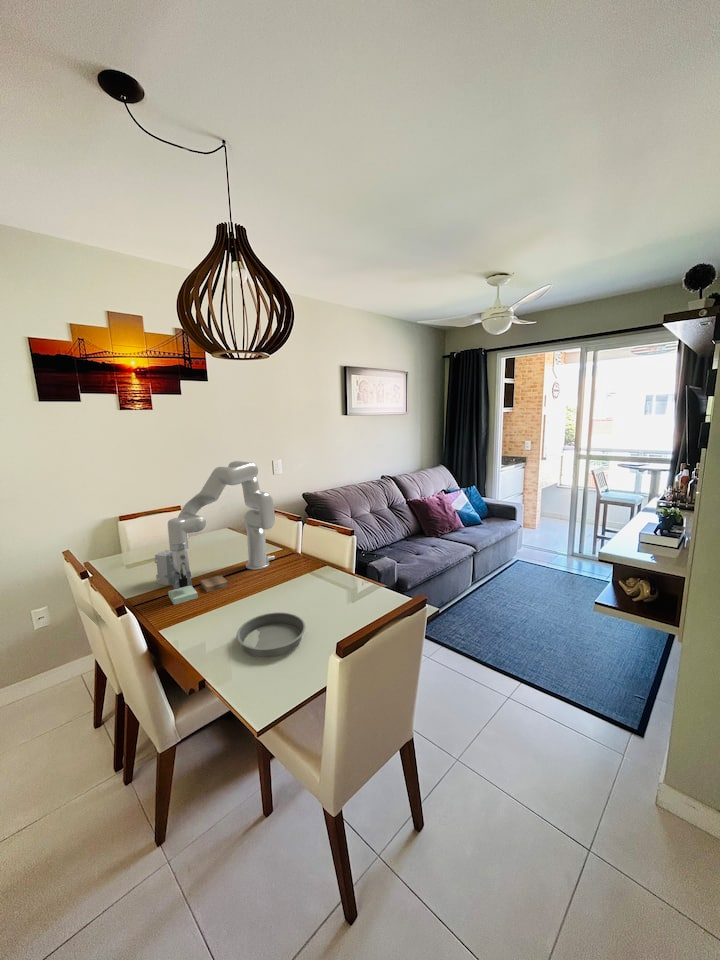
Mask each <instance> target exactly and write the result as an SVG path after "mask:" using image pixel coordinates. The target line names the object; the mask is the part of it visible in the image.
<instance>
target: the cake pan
mask: <svg viewBox="0 0 720 960" xmlns="http://www.w3.org/2000/svg"><path fill="white" fill-rule="evenodd" d="M255 631H257V632H259V633H258V640H257V643H256V646H250V645H247V644H246V643H244V641H245V640H246V638H247V637H248V636H249V635H250V634H251V633H253V632H255ZM305 631H306V622H305V621H304V620H303V619H302V618H301V617H300V616H298V615H296V614H295V613H294V614H293V613H289V612H269V613H264V614H263V613H262V614H260V615H256V616H255V617H253V618H250V619H248V620H247V621H246V622H244V623H243V624H242V625H241V626H240V627H239V628H238V630H237V632H236V639H237V642H238V643H239V644H240V645H241V646H242V649H243V650H244V651H245V653H247V654H248V655H250V656H253V657H255V658H262V659H263V658H265V659H267V658H269V659H270V658H276V657H279V656H284V655H286V654H288V653H290V652H291V651H294V650H295V649H296V648H297V647H298V646H299V645H300V643H301V641H302V638H303V635H304V633H305Z"/></svg>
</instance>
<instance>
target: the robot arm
mask: <svg viewBox="0 0 720 960" xmlns="http://www.w3.org/2000/svg"><path fill="white" fill-rule="evenodd" d="M258 473H259V467H258V466H257V464H255V463H253V462H250V461H249V462H248V461H241V460H233V461H231V462H229V464H228V466H218V467H215V468H214V469H213V470H212V472H211V474H210V475H209V477H208V478H207V480H206V482H205V484H204V486H203V487H202V488H201V490H200V491H199V492H198V493H196V494H195V495H194V496H193V497H191V499H190V500H188V501H187V502H186V503H185V504H184V505H183V507H182V509H181V511H180V513H179V514H178V516H177V517H174V518H171V519H168V521H167V534H168V544H169V550H170V551H172V556H173V566H174V568H175V570H176V571H177V572H178V573H179V576H180V579H179V584H180V587H185V586H186V587H187V585H188V583H187V573H186V570H187V571H189V570H190V571H191V568H190V560H189V559H190V558H189V552H188V549H189V541H188V540H189V538H188V534H192V533H199V532H201V531H203V530H204V529H205V528H206V526H207V521H206V518H205V517H203V516H200V515H198V512H199V511H200V510H201V509H202V508H203V507H206V506H207V505H210V504H213V503H215V502H217V501H218V500H219V498H220V496H221V495H222V492H223V490H224V489H225V488H226V486H237V485H240V484H241V487H242V492H243V493H242V494H243V499H244V505H245V506H246V507H247V508H249V510H247V511H246V513H245V514H244V517H243V518H244V524H245V528H246V537H247V539H246V540H247V555H248V561H247V562H246V564H245V567H246V568H247V569H248V570H263V569H265V568H267V567H269V566H270V561H272V560H275V559H276V558H275V557H276V556H275V555H267V546H266V544H267V542H266V532H265V530H266V531H267V530H271V529H273V527H274V525H275V524H276V523H275V522H276V515H275V514H276V513H275V506H274V500H273V497H272V495H271V494H270V493H268V492H266V491H261V489H260V485H259V480H258ZM181 570H182V572H180V571H181ZM181 573H183V574H182V575H181Z"/></svg>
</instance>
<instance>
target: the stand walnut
mask: <svg viewBox="0 0 720 960" xmlns="http://www.w3.org/2000/svg"><path fill="white" fill-rule="evenodd" d="M200 586H201V588H203V590H204V591H205V590H206V591H205V592H206V593H210V592H213V591H217V590H221V589H224V588H228V587H229V581H228V580H227V579H226V578H225V577H224V576H223V575H222V574H220V575H216V576H212V577H209V578H208V577H207V578H204V579H201V580H200Z"/></svg>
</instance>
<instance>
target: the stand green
mask: <svg viewBox="0 0 720 960" xmlns="http://www.w3.org/2000/svg"><path fill="white" fill-rule="evenodd" d="M168 597H169V599H170V601H171V602H172V604H173V605H179V604H181V603H186V602H189V601H192V600H196V599H199V594H198V591H196V589H195V588H194V587H193V585H190V586H186V587H183V588H179V589H172V590H168Z"/></svg>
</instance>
